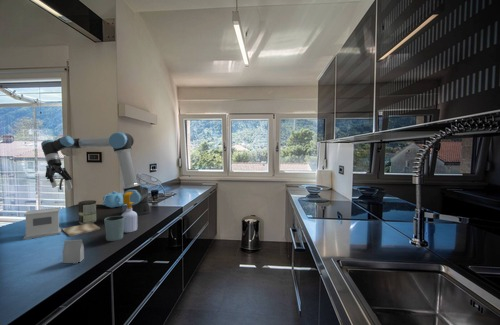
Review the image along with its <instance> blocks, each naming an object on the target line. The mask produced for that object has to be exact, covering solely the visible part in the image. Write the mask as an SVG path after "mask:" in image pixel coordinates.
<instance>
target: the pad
mask: <svg viewBox="0 0 500 325" xmlns="http://www.w3.org/2000/svg"><path fill="white" fill-rule="evenodd" d="M99 230H101V227H100V226H98V225H97V224H95V223H94V222H92V223H87V224H79V225H73V226H69V227H64V228H63V227H61V231H63V232H64V233H65V234H66V235H67V236H68V237H71V236H72V237H73V236H78V235H81V234H85V233H90V232H94V231H99Z"/></svg>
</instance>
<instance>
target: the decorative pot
mask: <svg viewBox="0 0 500 325" xmlns="http://www.w3.org/2000/svg"><path fill="white" fill-rule="evenodd" d="M123 194H124V192H117V191H116V190H115V191H114V190H113V191H112V192H110V193H107V194H106V195H103V197H102V200H103V202H102V206H105V207H106V208H110V209H114V208H116V207H118V208H119V207H121V208H122V206H124V205H125V204H124V203H123Z"/></svg>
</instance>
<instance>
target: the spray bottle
mask: <svg viewBox="0 0 500 325" xmlns="http://www.w3.org/2000/svg"><path fill="white" fill-rule="evenodd" d="M132 193H133V192H126V193H125V194H124V195H123V194H122V196H123V203H124V204H123V205H126V208H125V209H126V210H125V211H124V212H123V213H122V214H121V215H120V216H124V229H123V233H133V232H135V231H137V230H138V215H137V213H136V212H134V211H132V203H134V202H130V195H131V194H132Z"/></svg>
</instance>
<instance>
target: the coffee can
mask: <svg viewBox="0 0 500 325" xmlns="http://www.w3.org/2000/svg"><path fill="white" fill-rule="evenodd" d="M95 222H97V200H94V199H93V200H82V201H79V202H78V223H79V225H82V224H87V223H95Z"/></svg>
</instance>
